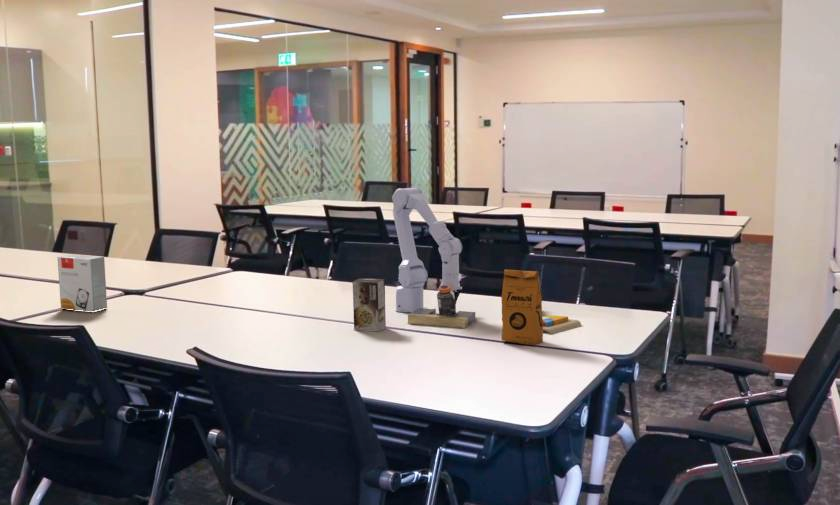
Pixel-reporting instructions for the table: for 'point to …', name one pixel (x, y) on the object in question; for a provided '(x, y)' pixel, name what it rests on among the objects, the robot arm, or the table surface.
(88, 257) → the hard drive box
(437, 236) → the robot arm
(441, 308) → the pill bottle
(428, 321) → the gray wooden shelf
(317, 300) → the table surface
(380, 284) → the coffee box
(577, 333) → the table surface
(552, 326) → the wooden puzzle
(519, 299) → the coffee package
